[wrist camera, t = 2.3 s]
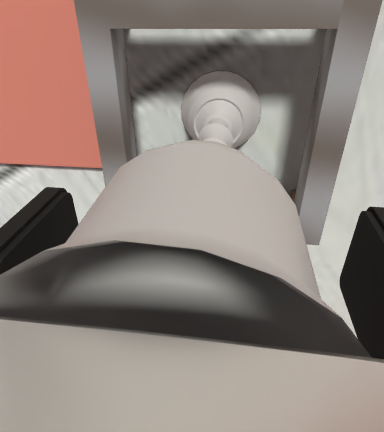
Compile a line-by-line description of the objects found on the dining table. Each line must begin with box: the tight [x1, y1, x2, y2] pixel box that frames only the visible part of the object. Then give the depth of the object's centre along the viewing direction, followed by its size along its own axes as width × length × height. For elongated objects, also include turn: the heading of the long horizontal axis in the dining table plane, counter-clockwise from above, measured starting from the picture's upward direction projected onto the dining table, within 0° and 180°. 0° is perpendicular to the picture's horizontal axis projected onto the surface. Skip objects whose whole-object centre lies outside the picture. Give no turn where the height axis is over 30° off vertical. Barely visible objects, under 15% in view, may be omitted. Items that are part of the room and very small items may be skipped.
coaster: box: [0, 0, 102, 168], centre depth 21 cm, size 12×12×1 cm
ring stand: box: [74, 0, 382, 245], centre depth 19 cm, size 13×13×5 cm
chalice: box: [0, 71, 372, 358], centre depth 14 cm, size 7×7×18 cm
